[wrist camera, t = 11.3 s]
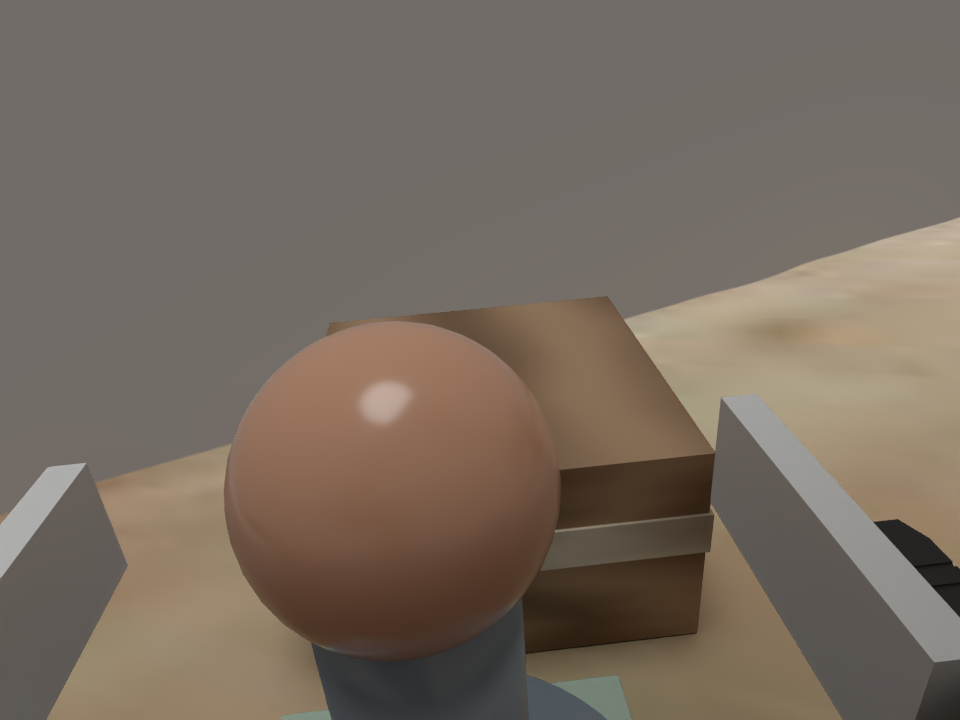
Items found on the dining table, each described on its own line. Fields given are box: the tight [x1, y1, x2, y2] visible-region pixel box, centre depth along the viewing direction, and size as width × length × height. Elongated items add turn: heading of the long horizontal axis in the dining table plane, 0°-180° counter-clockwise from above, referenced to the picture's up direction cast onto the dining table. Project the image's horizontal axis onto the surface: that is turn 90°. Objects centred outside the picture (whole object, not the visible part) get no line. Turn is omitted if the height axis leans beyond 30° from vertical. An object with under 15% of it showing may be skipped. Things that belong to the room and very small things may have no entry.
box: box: [326, 296, 715, 653], centre depth 26 cm, size 12×12×7 cm
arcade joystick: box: [224, 321, 607, 720], centre depth 12 cm, size 10×10×14 cm
